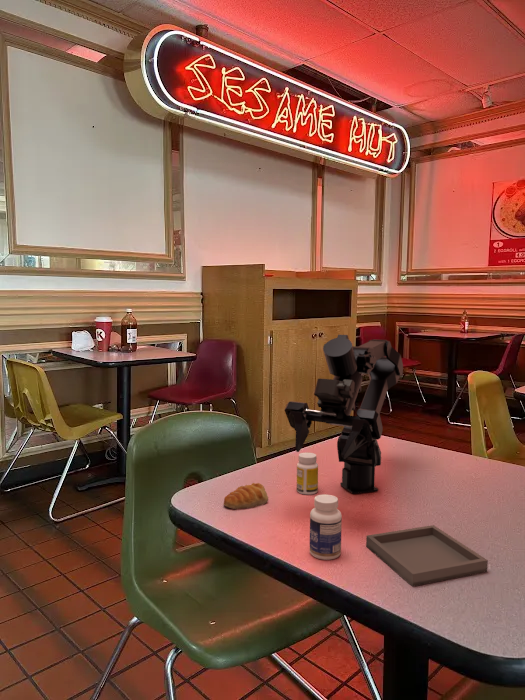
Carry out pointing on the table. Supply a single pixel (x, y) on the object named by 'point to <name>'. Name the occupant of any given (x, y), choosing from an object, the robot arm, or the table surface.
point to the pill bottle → (325, 528)
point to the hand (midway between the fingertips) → (319, 454)
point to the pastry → (246, 497)
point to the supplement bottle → (307, 474)
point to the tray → (425, 555)
